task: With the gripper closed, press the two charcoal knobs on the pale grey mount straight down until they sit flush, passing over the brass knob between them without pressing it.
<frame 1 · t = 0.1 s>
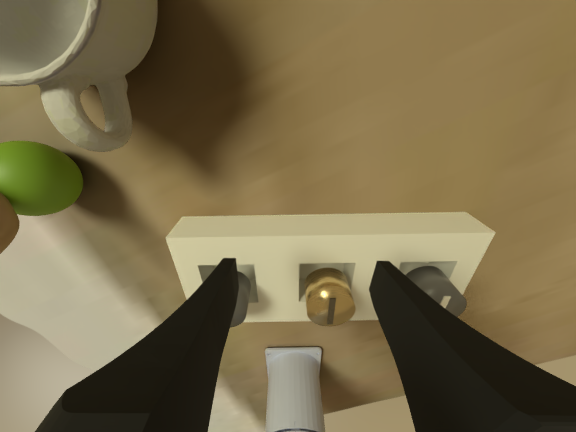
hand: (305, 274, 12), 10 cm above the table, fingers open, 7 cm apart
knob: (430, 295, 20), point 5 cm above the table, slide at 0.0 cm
teacup: (105, 20, 15), on the table
snail figurine: (72, 171, 19), on the table
knob brass: (328, 296, 20), point 5 cm above the table, slide at 0.0 cm
mount: (320, 258, 24), on the table
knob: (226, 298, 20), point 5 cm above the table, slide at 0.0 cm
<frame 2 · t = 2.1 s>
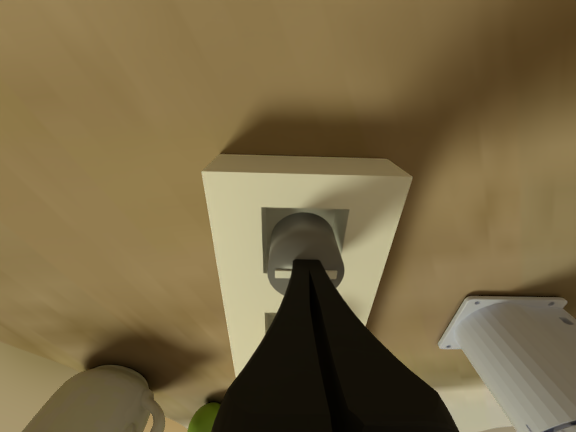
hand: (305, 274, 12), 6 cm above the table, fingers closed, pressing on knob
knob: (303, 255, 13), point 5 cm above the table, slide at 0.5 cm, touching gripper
teacup: (132, 375, 29), on the table
snail figurine: (218, 401, 32), on the table
mount: (294, 298, 21), on the table
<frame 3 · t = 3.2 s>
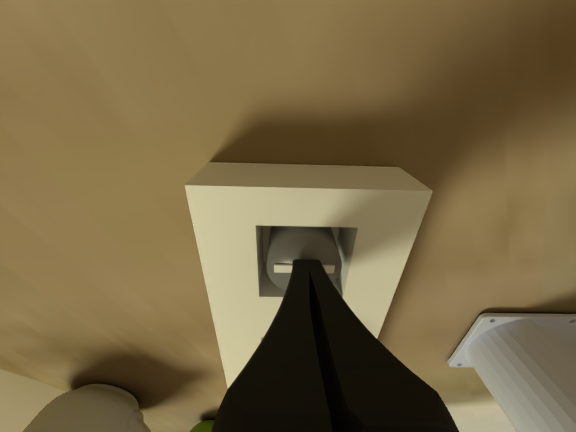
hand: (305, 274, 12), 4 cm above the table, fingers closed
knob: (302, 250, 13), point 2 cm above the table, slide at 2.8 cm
teacup: (121, 393, 27), on the table
snail figurine: (213, 418, 31), on the table
mount: (294, 316, 20), on the table
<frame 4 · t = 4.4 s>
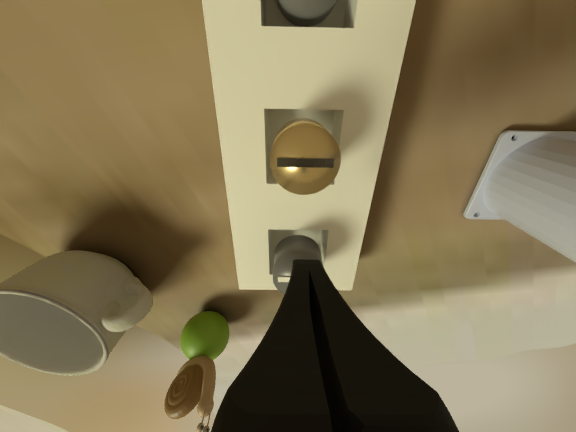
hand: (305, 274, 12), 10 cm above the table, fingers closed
teacup: (119, 272, 26), on the table
snail figurine: (215, 313, 29), on the table
knob brass: (303, 155, 14), point 5 cm above the table, slide at 0.0 cm
mount: (299, 139, 18), on the table
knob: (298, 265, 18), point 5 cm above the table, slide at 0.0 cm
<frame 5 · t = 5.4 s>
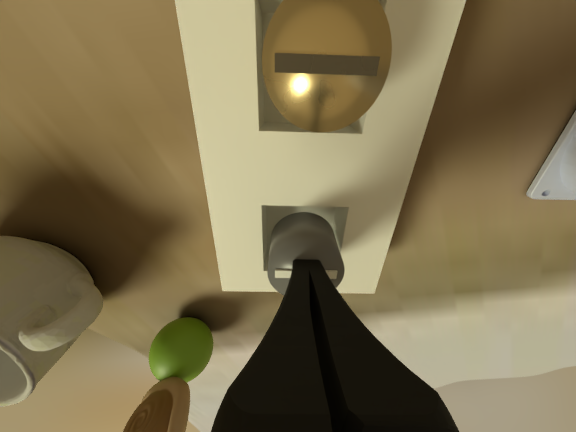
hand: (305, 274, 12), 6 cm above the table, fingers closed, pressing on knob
teacup: (70, 266, 20), on the table
snail figurine: (197, 319, 24), on the table
knob brass: (320, 68, 8), point 5 cm above the table, slide at 0.0 cm
mount: (308, 74, 13), on the table
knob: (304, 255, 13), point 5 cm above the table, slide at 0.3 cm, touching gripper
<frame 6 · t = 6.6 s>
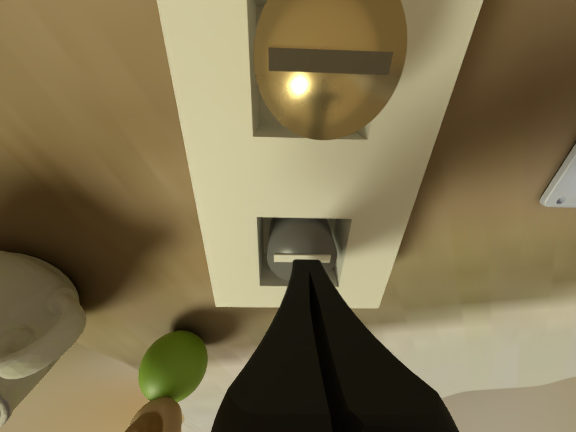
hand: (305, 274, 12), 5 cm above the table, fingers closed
teacup: (54, 279, 19), on the table
snail figurine: (191, 332, 22), on the table
knob brass: (321, 66, 7), point 5 cm above the table, slide at 0.0 cm
mount: (307, 74, 12), on the table
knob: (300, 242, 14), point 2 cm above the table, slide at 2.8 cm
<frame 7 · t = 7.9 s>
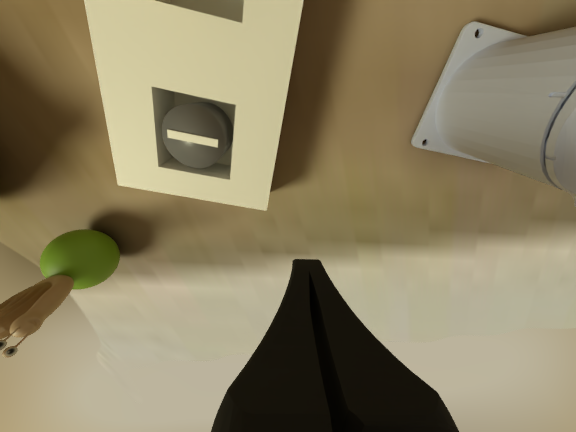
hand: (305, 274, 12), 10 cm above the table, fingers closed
snail figurine: (109, 238, 23), on the table
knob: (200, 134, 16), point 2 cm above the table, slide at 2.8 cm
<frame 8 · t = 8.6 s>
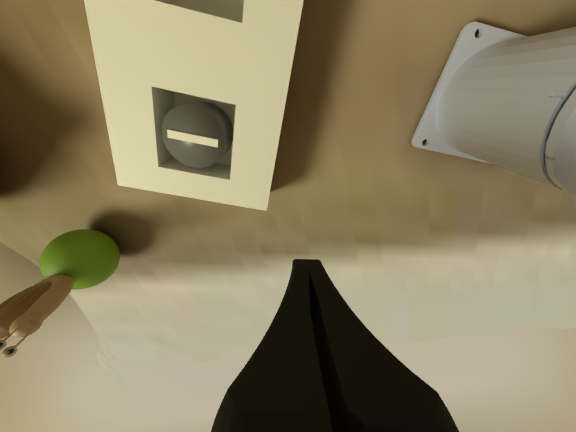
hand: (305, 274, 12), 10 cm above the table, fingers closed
snail figurine: (109, 238, 23), on the table
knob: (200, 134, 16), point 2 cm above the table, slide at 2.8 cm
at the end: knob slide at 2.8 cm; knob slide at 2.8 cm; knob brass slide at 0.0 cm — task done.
